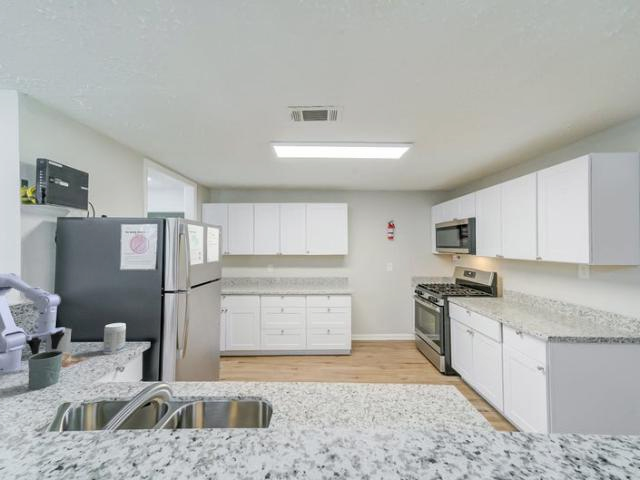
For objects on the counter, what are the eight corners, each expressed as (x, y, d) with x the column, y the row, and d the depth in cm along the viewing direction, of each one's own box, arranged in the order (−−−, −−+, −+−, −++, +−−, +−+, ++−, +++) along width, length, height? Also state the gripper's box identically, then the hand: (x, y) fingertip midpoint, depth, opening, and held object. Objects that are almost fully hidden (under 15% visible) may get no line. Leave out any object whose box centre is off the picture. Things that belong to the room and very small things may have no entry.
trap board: (65, 367, 128) (65, 366, 128) (46, 365, 129) (46, 364, 130) (90, 358, 139) (90, 357, 140) (73, 356, 141) (73, 355, 141)
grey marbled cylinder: (57, 358, 139) (59, 333, 139) (39, 357, 139) (41, 332, 140) (74, 351, 148) (76, 328, 149) (57, 351, 148) (59, 328, 149)
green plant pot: (58, 377, 118) (61, 348, 119) (62, 384, 112) (65, 354, 112) (24, 385, 110) (27, 354, 111) (26, 393, 104) (29, 361, 104)
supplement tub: (123, 347, 156) (125, 321, 157) (125, 352, 149) (127, 325, 150) (102, 351, 150) (104, 324, 151) (102, 356, 143) (104, 327, 144)
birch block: (60, 366, 128) (61, 356, 129) (52, 365, 129) (53, 355, 130) (70, 362, 133) (71, 353, 133) (63, 361, 134) (63, 352, 134)
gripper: (35, 325, 117) (33, 358, 116) (71, 318, 131) (69, 347, 131) (22, 325, 118) (19, 357, 117) (58, 317, 132) (56, 346, 132)
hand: (44, 351), depth 124 cm, fingers open, 7 cm apart
